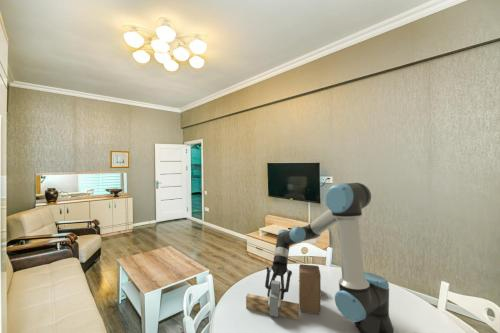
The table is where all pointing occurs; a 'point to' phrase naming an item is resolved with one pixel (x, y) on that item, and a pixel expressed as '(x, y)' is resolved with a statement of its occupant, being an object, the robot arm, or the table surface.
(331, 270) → the table surface
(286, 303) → the oak slotted plate
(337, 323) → the table surface
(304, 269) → the wooden block
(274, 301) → the grey stepped block
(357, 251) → the robot arm
